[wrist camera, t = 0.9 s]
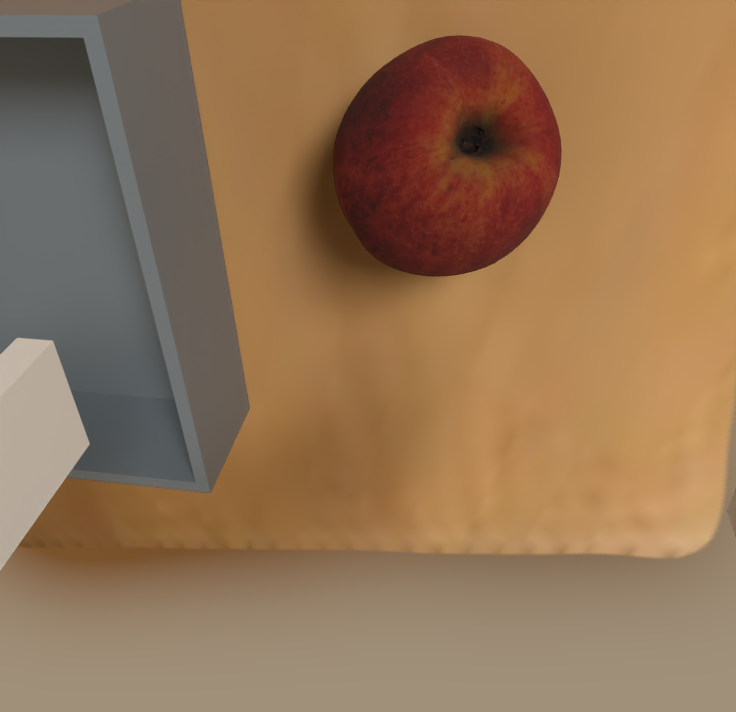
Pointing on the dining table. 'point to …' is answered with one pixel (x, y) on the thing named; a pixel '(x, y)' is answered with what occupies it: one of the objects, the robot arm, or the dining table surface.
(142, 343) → the tub
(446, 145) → the apple
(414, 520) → the dining table surface
